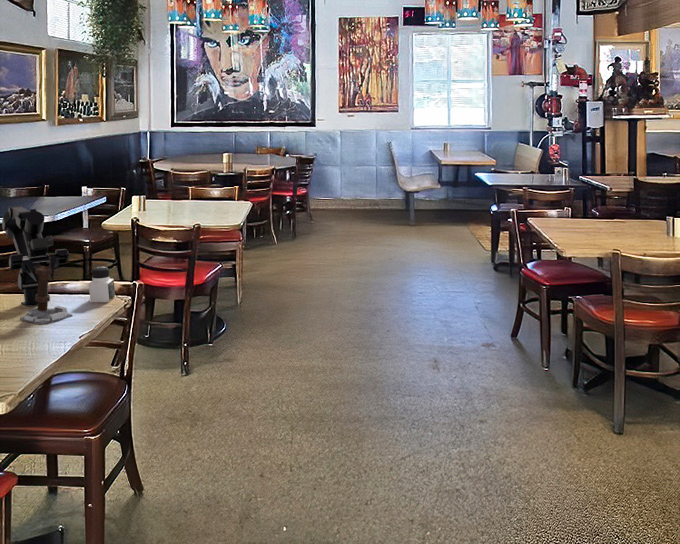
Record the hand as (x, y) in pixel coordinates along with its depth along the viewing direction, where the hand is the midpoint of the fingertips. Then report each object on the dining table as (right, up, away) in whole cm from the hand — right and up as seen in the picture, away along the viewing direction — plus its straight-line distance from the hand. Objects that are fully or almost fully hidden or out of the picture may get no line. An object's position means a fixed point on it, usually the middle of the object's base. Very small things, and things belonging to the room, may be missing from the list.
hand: (44, 280), depth 268 cm
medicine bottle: (+12, -8, +26) cm, 29 cm away
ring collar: (-1, -13, +4) cm, 13 cm away
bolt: (-2, -10, +4) cm, 12 cm away
